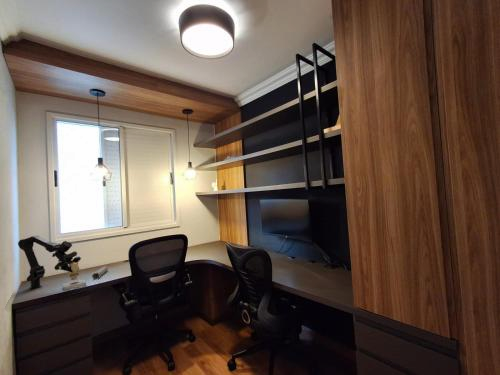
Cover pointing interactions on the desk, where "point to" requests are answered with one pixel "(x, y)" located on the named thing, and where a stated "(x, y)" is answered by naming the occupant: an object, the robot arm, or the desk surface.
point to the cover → (74, 268)
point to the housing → (73, 284)
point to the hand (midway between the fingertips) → (75, 270)
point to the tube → (99, 273)
